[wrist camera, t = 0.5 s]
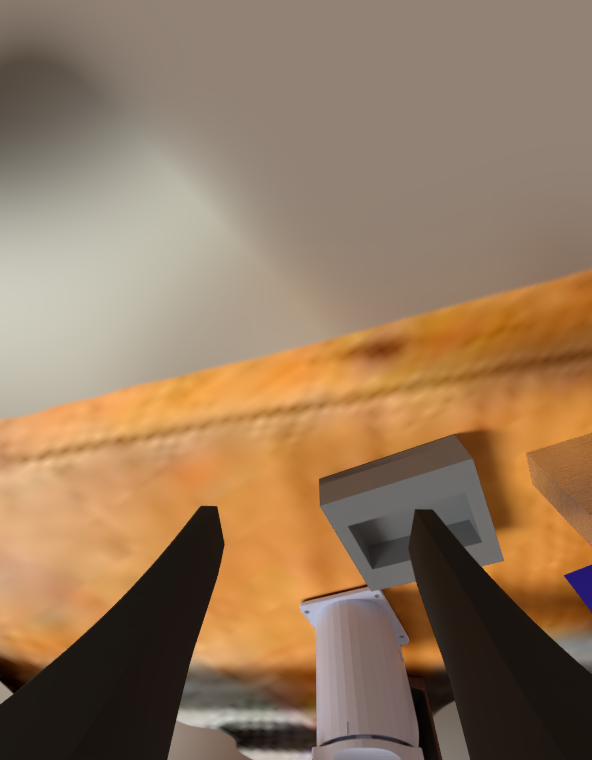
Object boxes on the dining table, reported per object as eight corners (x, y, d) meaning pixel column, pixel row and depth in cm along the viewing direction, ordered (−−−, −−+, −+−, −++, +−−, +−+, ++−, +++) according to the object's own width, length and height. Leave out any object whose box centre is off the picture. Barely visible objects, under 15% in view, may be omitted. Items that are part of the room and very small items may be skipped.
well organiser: (485, 530, 23) (504, 560, 21) (366, 561, 26) (371, 591, 23) (454, 434, 20) (472, 458, 18) (319, 479, 22) (319, 506, 20)
